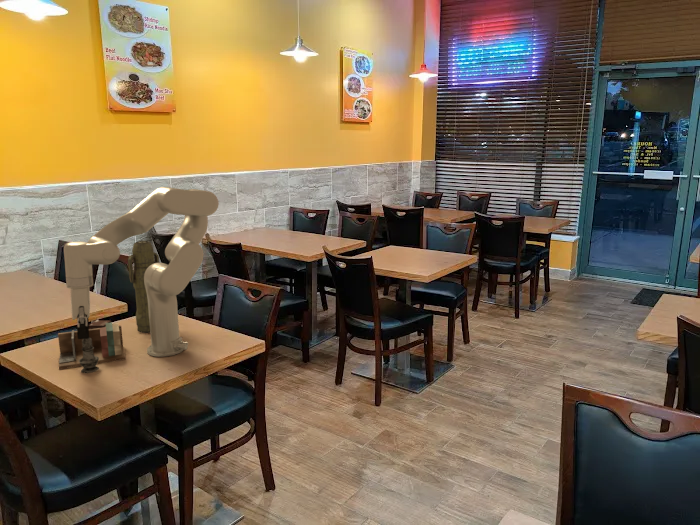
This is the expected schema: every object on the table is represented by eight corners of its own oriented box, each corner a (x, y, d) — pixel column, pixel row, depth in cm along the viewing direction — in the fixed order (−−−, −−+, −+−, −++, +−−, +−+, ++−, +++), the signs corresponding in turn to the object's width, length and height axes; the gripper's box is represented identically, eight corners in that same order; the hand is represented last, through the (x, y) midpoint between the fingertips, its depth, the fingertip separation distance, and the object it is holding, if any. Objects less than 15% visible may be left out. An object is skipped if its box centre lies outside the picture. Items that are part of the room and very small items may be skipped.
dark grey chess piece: (104, 367, 177) (100, 333, 174) (90, 374, 172) (86, 339, 169) (89, 365, 179) (86, 330, 176) (75, 372, 173) (71, 336, 171)
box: (105, 344, 197) (103, 325, 195) (89, 344, 197) (87, 325, 195) (113, 338, 203) (111, 320, 201) (97, 338, 203) (95, 320, 201)
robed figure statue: (168, 327, 216) (162, 240, 208) (143, 335, 206) (135, 245, 198) (154, 322, 220) (148, 238, 213) (129, 331, 211) (121, 242, 203)
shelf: (123, 346, 195) (120, 319, 193) (125, 359, 184) (122, 331, 182) (60, 355, 187) (57, 327, 185) (59, 369, 175) (55, 340, 173)
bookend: (76, 351, 187) (74, 330, 186) (76, 361, 179) (73, 338, 178) (60, 354, 185) (57, 332, 183) (59, 363, 177) (56, 340, 176)
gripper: (67, 276, 175) (71, 326, 178) (65, 288, 159) (69, 344, 163) (92, 274, 178) (96, 324, 181) (93, 286, 163) (97, 340, 166)
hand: (83, 333), depth 172 cm, fingers open, 9 cm apart
